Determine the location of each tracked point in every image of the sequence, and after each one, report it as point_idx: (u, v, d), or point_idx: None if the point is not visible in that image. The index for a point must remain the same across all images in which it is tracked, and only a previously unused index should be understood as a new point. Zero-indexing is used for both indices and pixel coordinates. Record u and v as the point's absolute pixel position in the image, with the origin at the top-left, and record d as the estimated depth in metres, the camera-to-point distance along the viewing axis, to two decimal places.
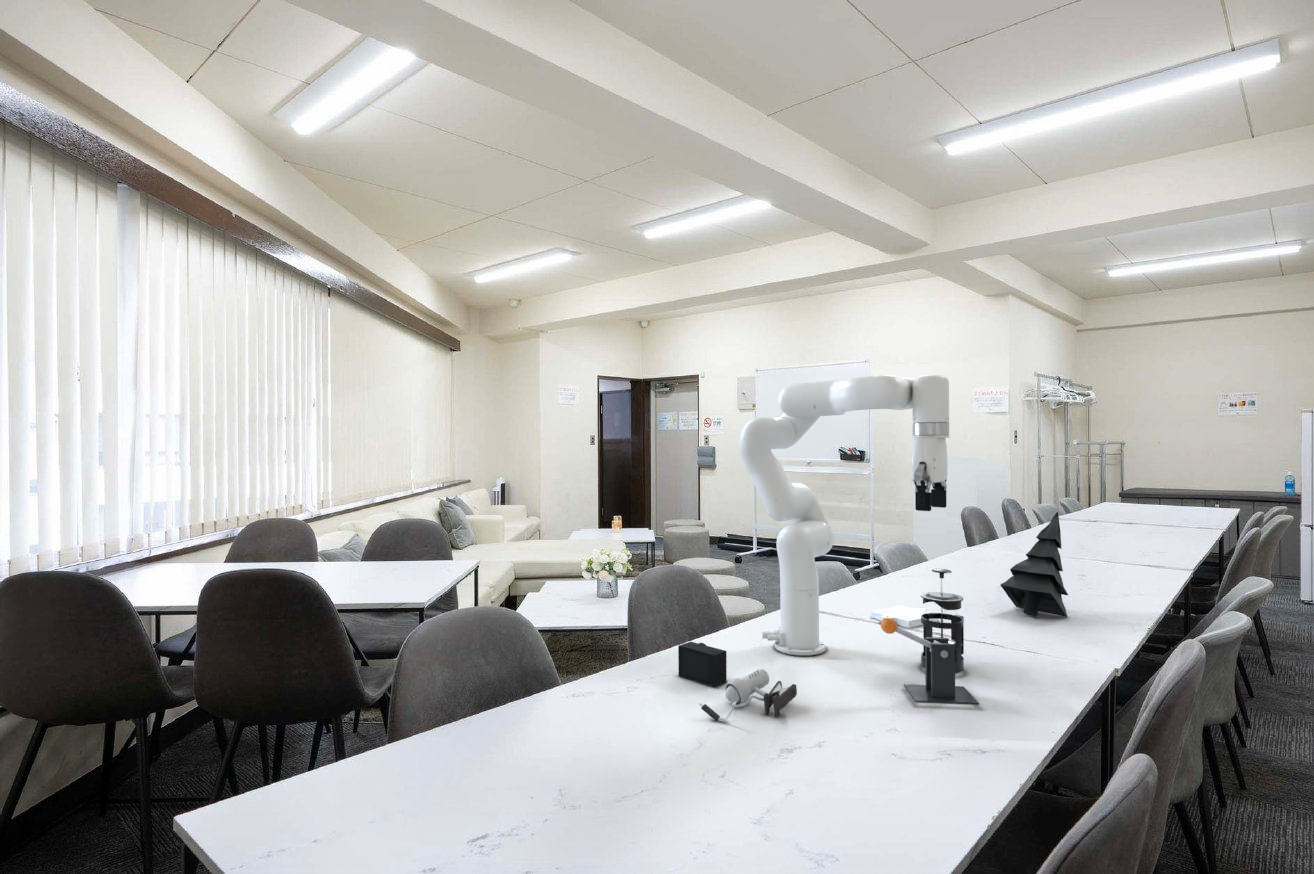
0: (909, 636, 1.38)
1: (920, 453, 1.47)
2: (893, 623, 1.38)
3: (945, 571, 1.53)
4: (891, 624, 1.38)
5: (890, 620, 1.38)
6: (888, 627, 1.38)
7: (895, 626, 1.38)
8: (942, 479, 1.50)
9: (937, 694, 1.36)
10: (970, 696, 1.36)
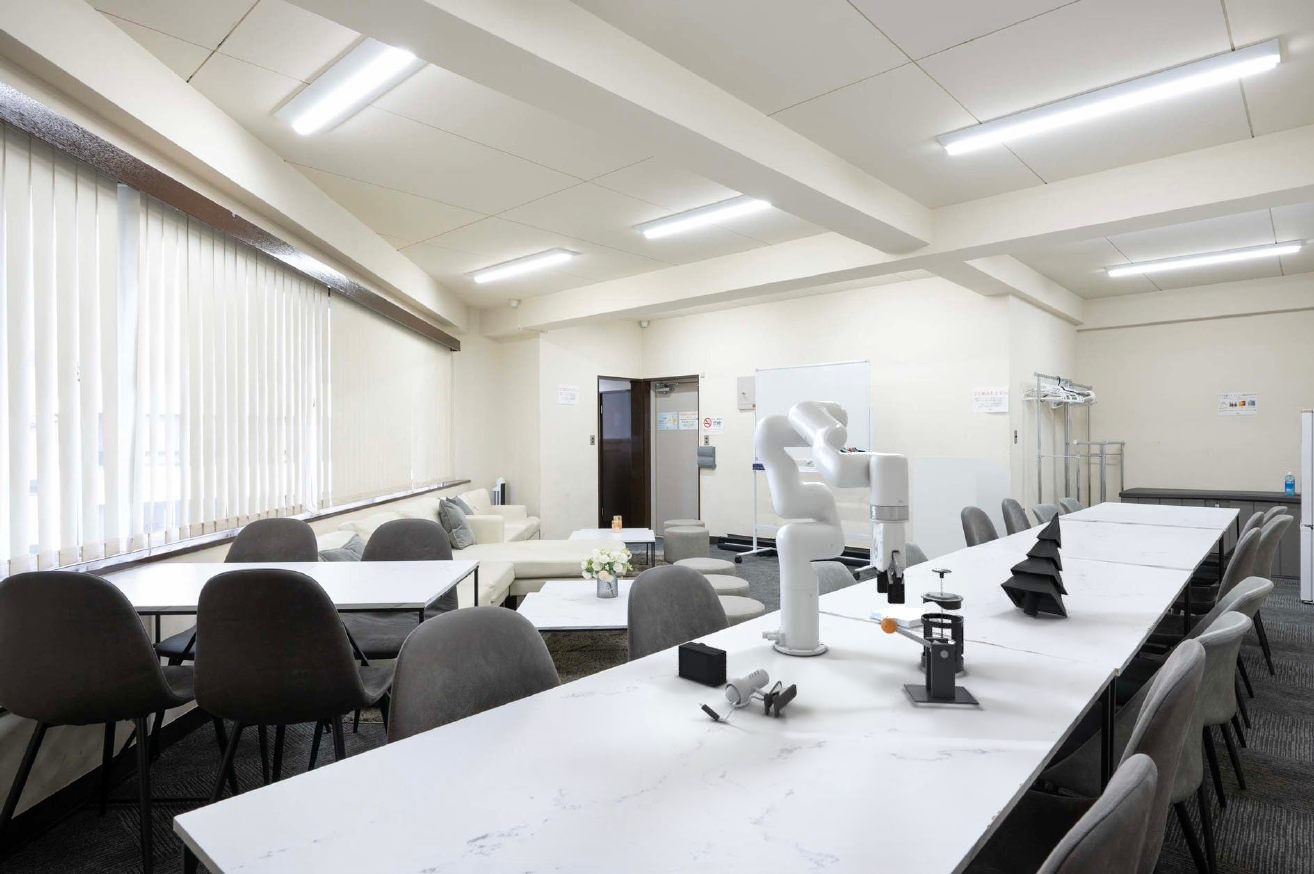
0: (909, 636, 1.38)
1: (892, 540, 1.34)
2: (893, 623, 1.38)
3: (945, 571, 1.53)
4: (891, 624, 1.38)
5: (890, 620, 1.38)
6: (888, 627, 1.38)
7: (895, 626, 1.38)
8: None
9: (937, 694, 1.36)
10: (970, 696, 1.36)
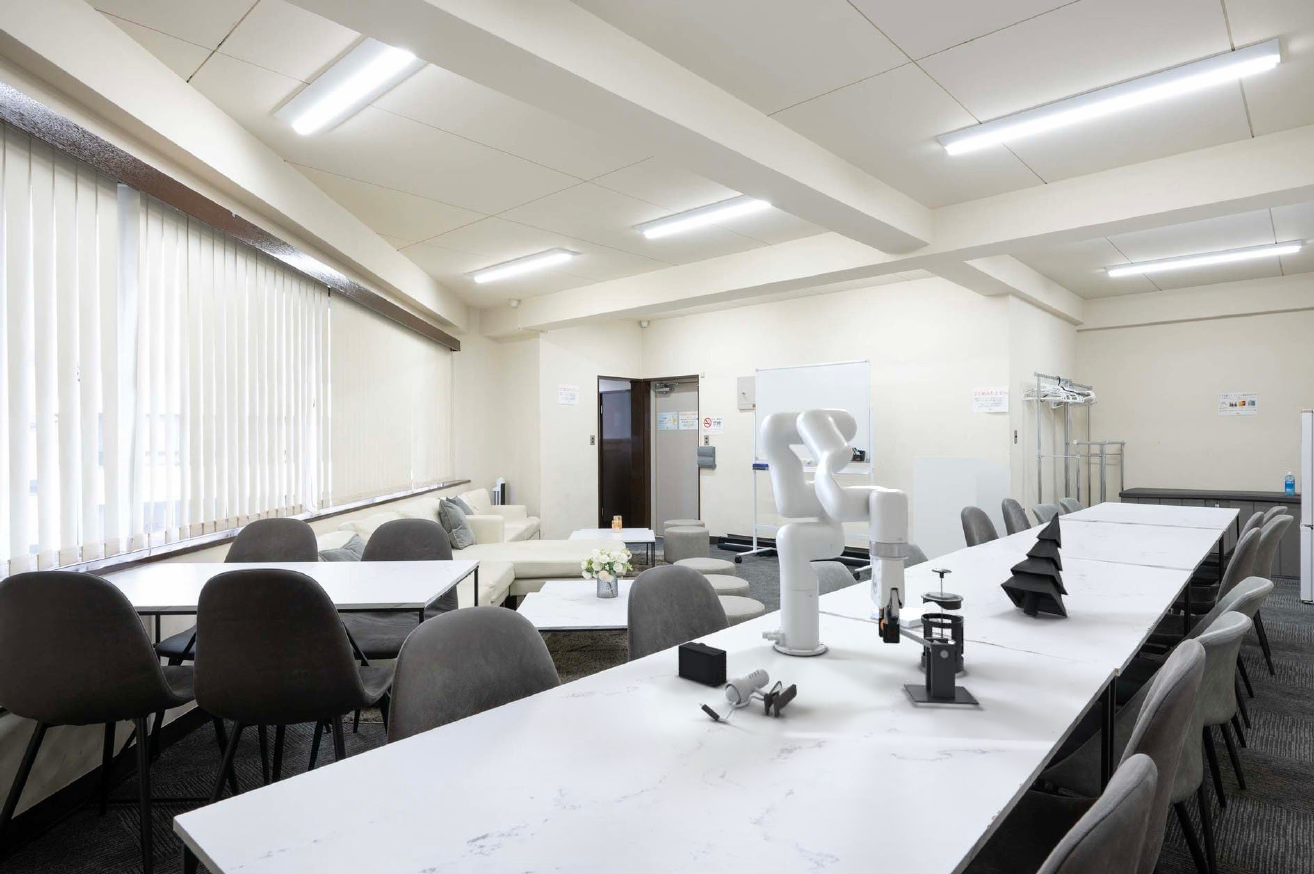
0: (909, 636, 1.38)
1: (891, 577, 1.34)
2: None
3: (945, 571, 1.53)
4: None
5: None
6: None
7: None
8: None
9: (937, 694, 1.36)
10: (970, 696, 1.36)
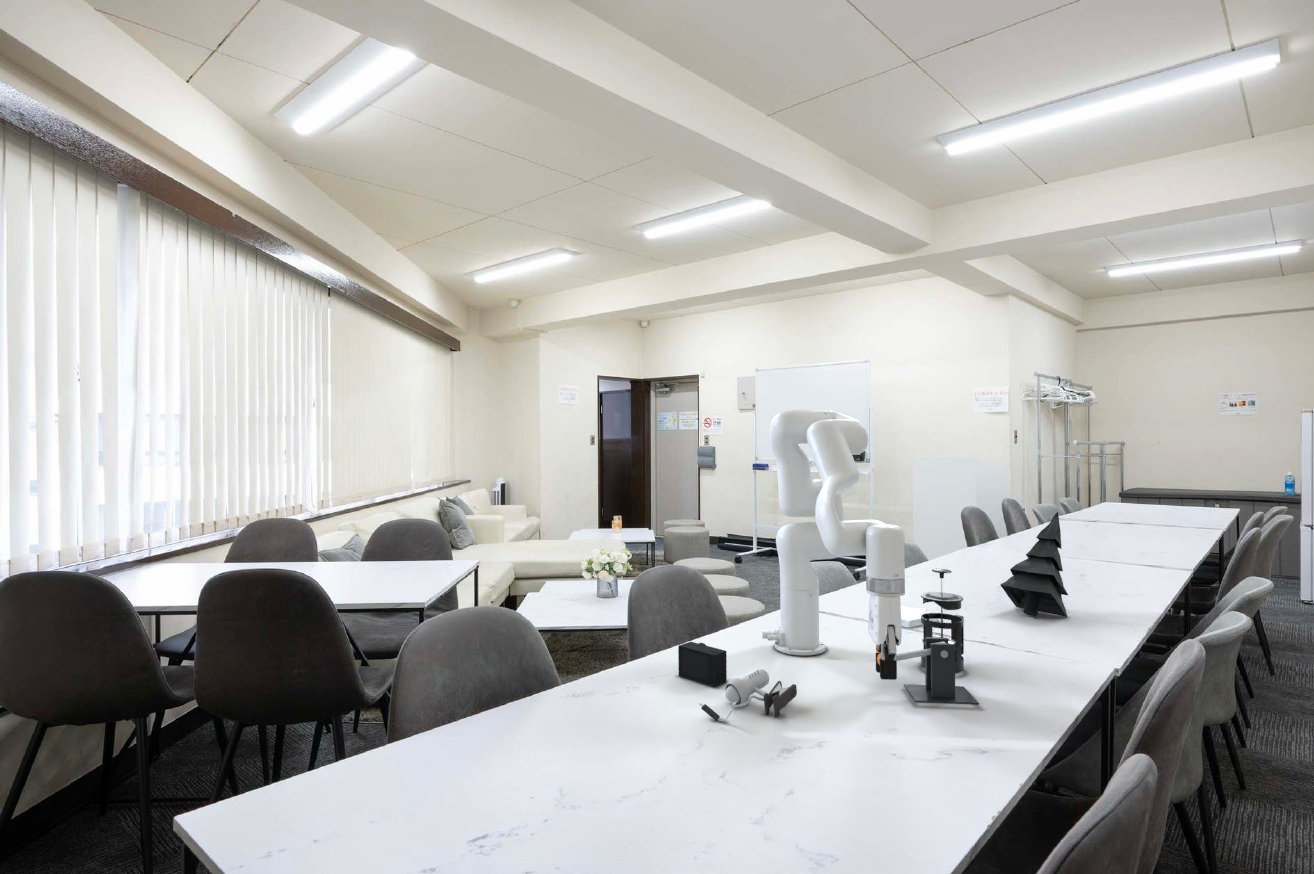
0: (907, 657, 1.38)
1: (888, 614, 1.34)
2: None
3: (945, 571, 1.53)
4: None
5: None
6: None
7: None
8: None
9: (937, 694, 1.36)
10: (970, 696, 1.36)
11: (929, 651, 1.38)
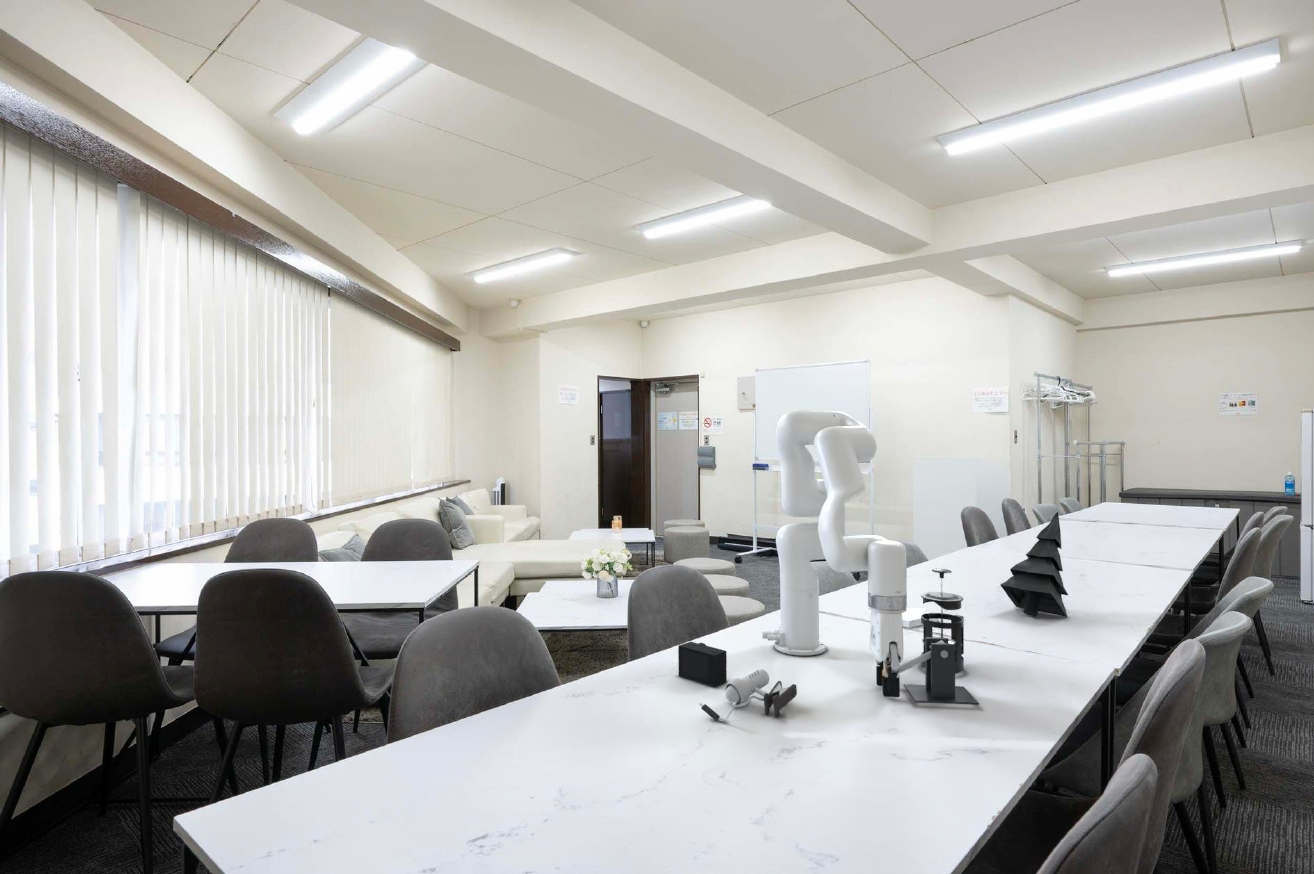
0: (911, 665, 1.38)
1: (890, 631, 1.34)
2: None
3: (945, 571, 1.53)
4: None
5: None
6: None
7: None
8: None
9: (937, 694, 1.36)
10: (970, 696, 1.36)
11: (930, 654, 1.38)
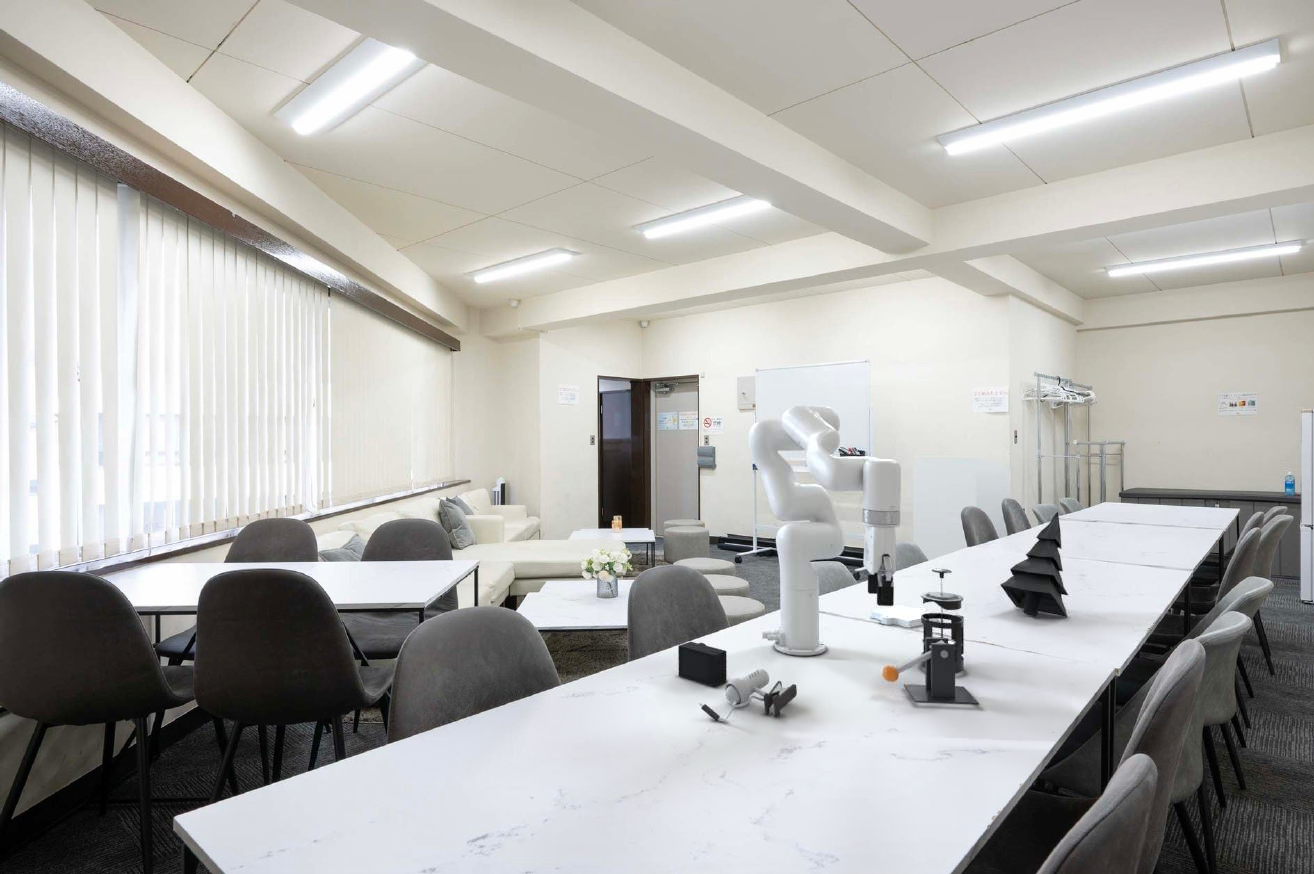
0: (911, 665, 1.38)
1: (883, 544, 1.38)
2: (890, 670, 1.38)
3: (945, 571, 1.53)
4: (890, 673, 1.38)
5: (886, 670, 1.38)
6: (890, 678, 1.38)
7: (894, 671, 1.38)
8: None
9: (937, 694, 1.36)
10: (970, 696, 1.36)
11: (930, 654, 1.38)
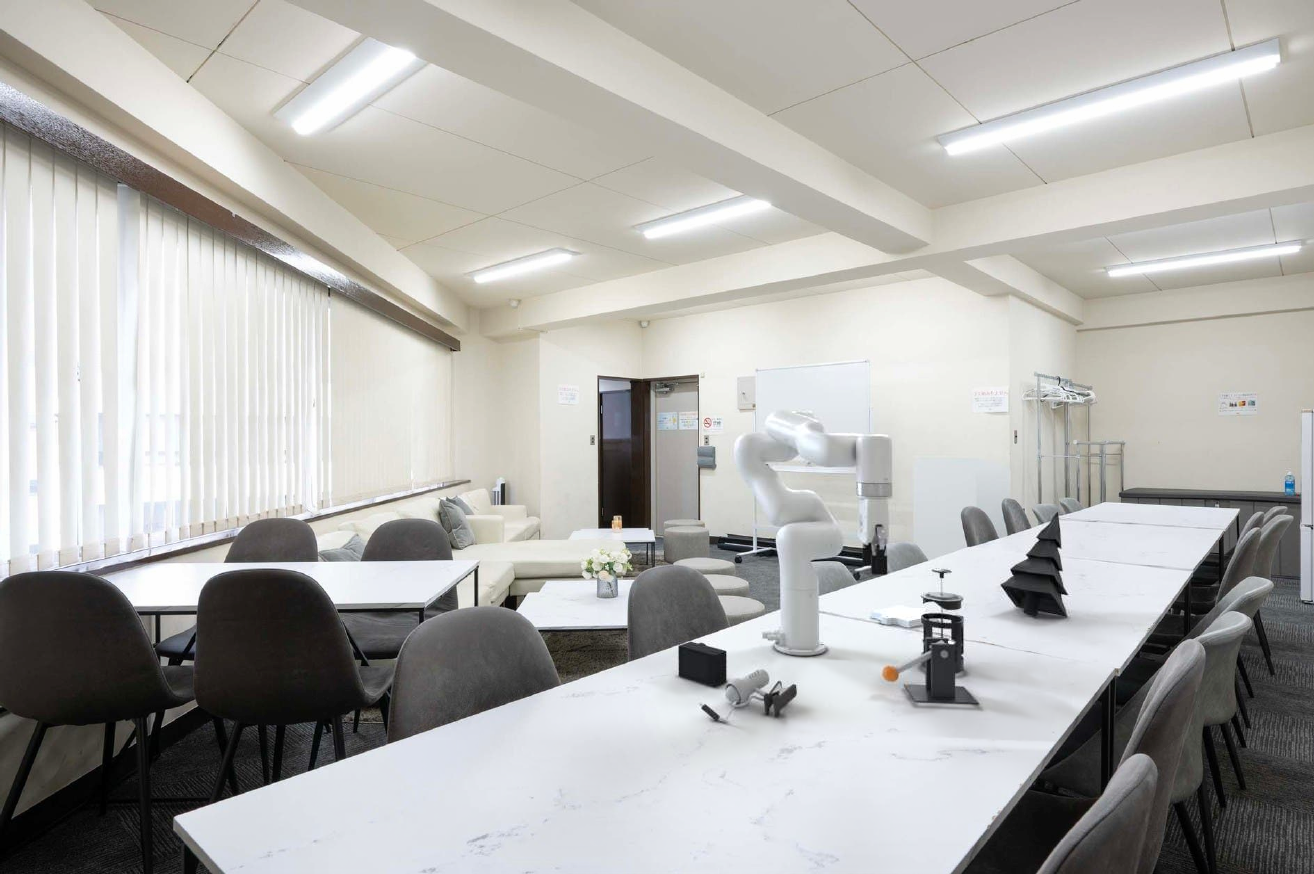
0: (911, 665, 1.38)
1: (876, 515, 1.43)
2: (890, 670, 1.38)
3: (945, 571, 1.53)
4: (890, 673, 1.38)
5: (886, 670, 1.38)
6: (890, 678, 1.38)
7: (894, 671, 1.38)
8: None
9: (937, 694, 1.36)
10: (970, 696, 1.36)
11: (930, 654, 1.38)
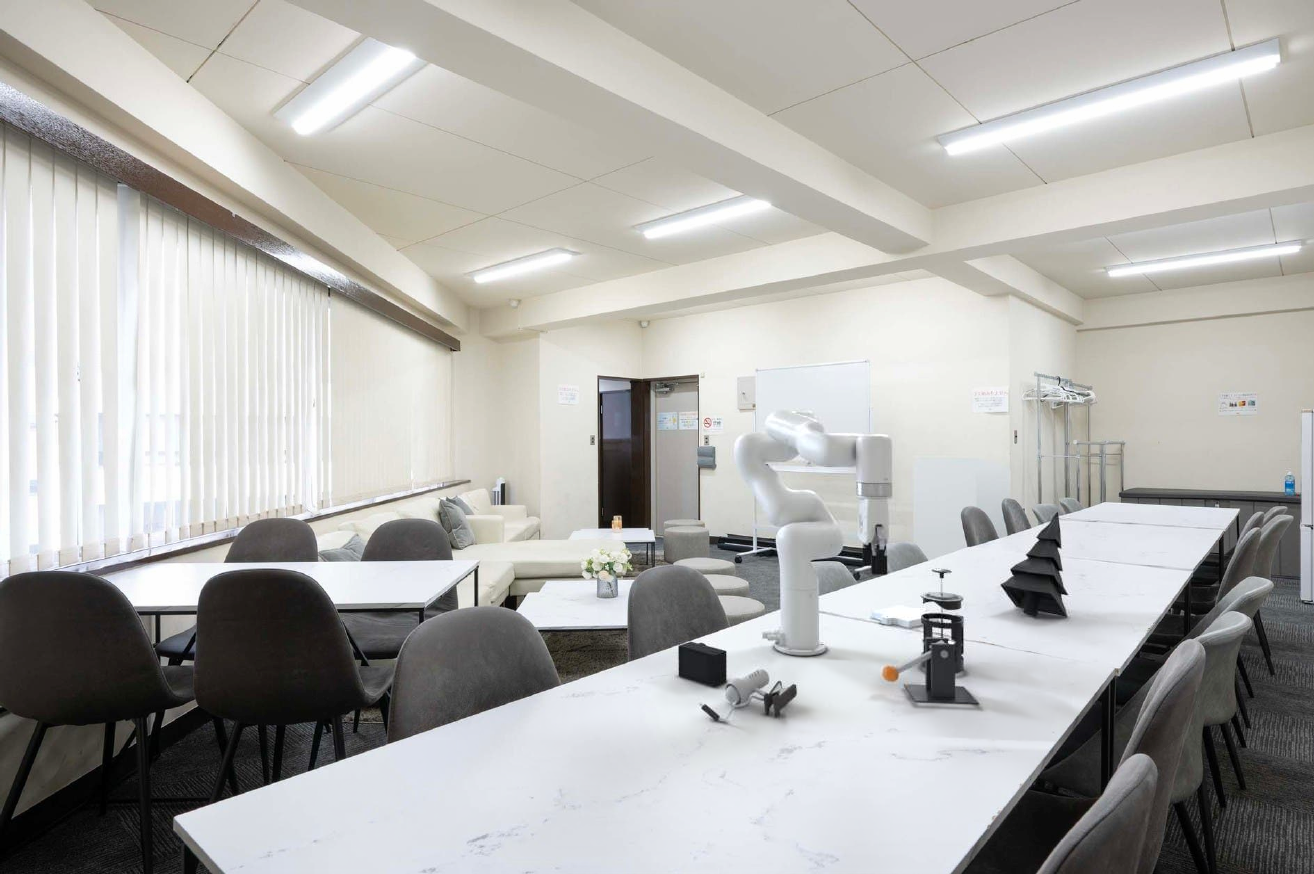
0: (911, 665, 1.38)
1: (876, 515, 1.43)
2: (890, 670, 1.38)
3: (945, 571, 1.53)
4: (890, 673, 1.38)
5: (886, 670, 1.38)
6: (890, 678, 1.38)
7: (894, 671, 1.38)
8: None
9: (937, 694, 1.36)
10: (970, 696, 1.36)
11: (930, 654, 1.38)
